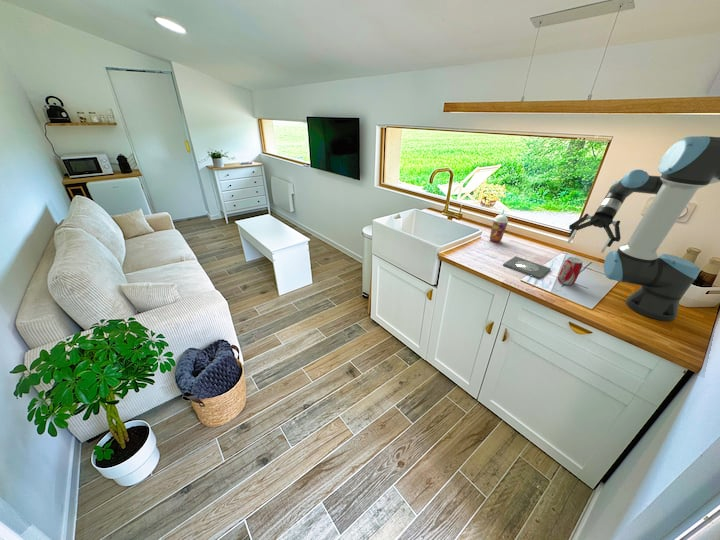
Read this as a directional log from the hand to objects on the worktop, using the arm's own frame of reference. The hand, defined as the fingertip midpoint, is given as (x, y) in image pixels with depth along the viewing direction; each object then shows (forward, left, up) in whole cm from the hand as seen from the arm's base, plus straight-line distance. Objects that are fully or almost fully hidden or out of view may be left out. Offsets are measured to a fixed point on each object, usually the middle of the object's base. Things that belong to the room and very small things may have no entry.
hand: (585, 246), depth 133 cm
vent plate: (+18, +11, -16) cm, 26 cm away
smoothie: (+46, -12, -16) cm, 50 cm away
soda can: (0, +11, -16) cm, 20 cm away
